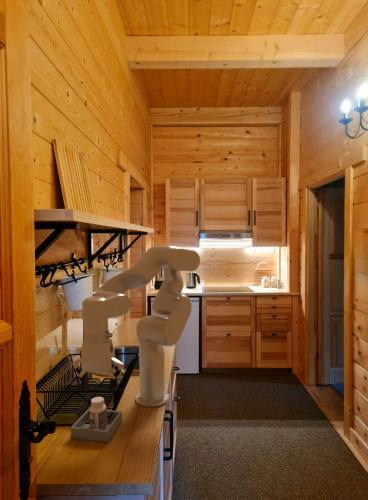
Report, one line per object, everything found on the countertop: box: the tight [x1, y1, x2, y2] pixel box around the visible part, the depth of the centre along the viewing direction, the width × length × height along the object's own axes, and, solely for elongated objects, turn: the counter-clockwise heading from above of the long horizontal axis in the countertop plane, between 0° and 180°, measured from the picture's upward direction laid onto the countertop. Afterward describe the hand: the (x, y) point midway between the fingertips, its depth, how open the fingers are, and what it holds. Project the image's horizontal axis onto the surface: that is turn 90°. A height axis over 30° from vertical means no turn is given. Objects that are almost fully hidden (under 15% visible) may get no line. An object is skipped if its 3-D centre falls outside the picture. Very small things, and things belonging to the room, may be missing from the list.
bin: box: [70, 407, 123, 444], centre depth 109 cm, size 12×12×4 cm
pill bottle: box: [89, 396, 107, 430], centre depth 110 cm, size 5×5×9 cm
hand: (99, 388), depth 110 cm, fingers open, 9 cm apart
